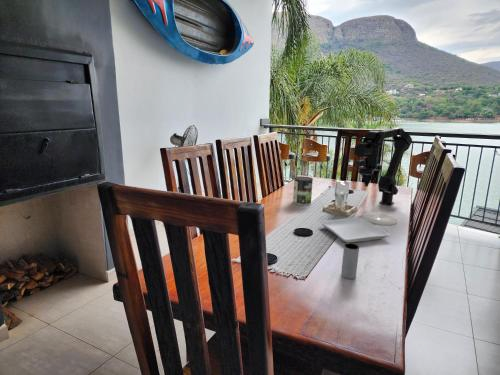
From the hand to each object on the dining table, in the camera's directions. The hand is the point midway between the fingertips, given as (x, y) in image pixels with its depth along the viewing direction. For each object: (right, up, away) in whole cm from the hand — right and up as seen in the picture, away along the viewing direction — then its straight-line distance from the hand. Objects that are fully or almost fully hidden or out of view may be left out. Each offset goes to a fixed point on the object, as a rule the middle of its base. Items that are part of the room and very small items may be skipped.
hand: (369, 184), depth 166 cm
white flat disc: (0, -17, -14) cm, 22 cm away
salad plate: (-19, -22, -32) cm, 43 cm away
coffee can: (-34, -10, +11) cm, 37 cm away
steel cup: (-16, -14, -2) cm, 21 cm away
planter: (-31, -30, -65) cm, 78 cm away
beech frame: (-16, -13, -2) cm, 21 cm away
